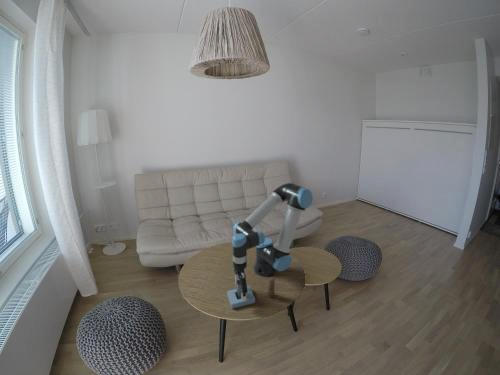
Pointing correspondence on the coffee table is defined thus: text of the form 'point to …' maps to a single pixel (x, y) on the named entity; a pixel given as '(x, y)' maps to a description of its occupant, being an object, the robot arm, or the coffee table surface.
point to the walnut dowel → (271, 287)
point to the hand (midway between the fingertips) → (240, 291)
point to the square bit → (238, 289)
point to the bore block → (239, 302)
